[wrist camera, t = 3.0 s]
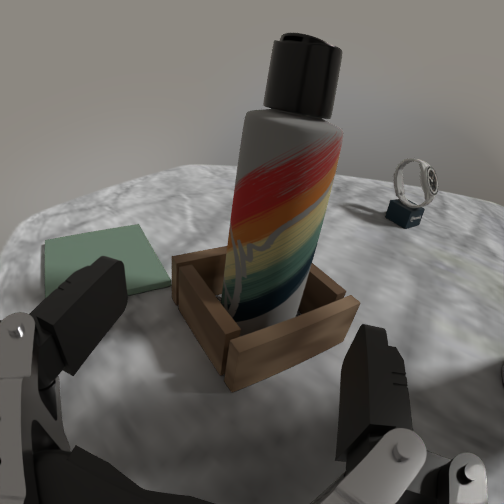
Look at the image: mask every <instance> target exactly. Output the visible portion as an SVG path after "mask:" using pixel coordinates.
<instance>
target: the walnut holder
mask: <svg viewBox="0 0 504 504" xmlns="http://www.w3.org/2000/svg"><path fill="white" fill-rule="evenodd" d="M226 254H227V246H225V247H219V248H214V249H208V250H203V251H198V252H192V253H187V254H182V255H176V256H172V299H173V300H174V302H175V304H176V305H179V311H180V312H181V314H182V316H183V317H184V319H185V321H186V322H187V324H188V326H189V327H190V329H191V331H192V332H193V334H194V335H195V337H196V339H197V340H198V342H199V343H200V345H201V347H202V348H203V350H204V351H205V353H206V354H207V356H208V358H209V359H210V361H211V362H212V364H213V365H214V367H215V368H216V370H217V371H218V373H219V374H220V376H221V375H224V374H225V378H224V382H225V383H226V385H227V386H228V388H229V389H230V391H231V392H235V391H237V390H240V389H242V388H245V387H247V386H250V385H252V384H254V383H257V382H259V381H261V380H264V379H266V378H268V377H271V376H273V375H275V374H277V373H280V372H282V371H284V370H286V369H288V368H291V367H293V366H295V365H297V364H299V363H301V362H303V361H305V360H307V359H310V358H312V357H314V356H316V355H318V354H320V353H322V352H324V351H326V350H328V349H330V348H332V347H333V346H335V345H337V344H339V343H341V342H343V341H344V338H345V336H346V334H347V332H348V330H349V328H350V325H351V323H352V321H353V319H354V317H355V314H356V312H357V310H358V308H359V305H360V302H359V301H358V300H356V299H355V298H354V297H353V296H352V295H350V296H347V297H345V298H344V296H345V293H346V290H344V289H343V288H342V287H341V286H340V285H338V284H337V283H336V282H335V281H334V280H332V279H331V278H330V277H329V276H327V275H326V274H325V273H324V272H323V271H321V270H320V269H319V268H318V267H316V266H315V265H314V264H313V263H312V264H311V267H310V271H309V274H308V278H307V281H306V285H305V288H304V291H303V295H302V298H301V301H300V305H299V308H298V311H299V312H300V313H301V314H302V315H299V316H297V317H294V318H291V319H289V320H286V321H283V322H280V323H278V324H275V325H272V326H269V327H267V328H264V329H261V330H258V331H255V332H252V333H249V334H247V335H244V336H241V337H240V332H241V329H240V327H239V326H238V325H237V324H236V322H235V321H234V320H233V318H232V317H231V316H230V315H229V313H228V312H227V311H226V309H225V308H224V307H223V305H222V304H221V303H220V302H219V300H218V299H217V298H216V296H215V295H219V294H222V289H223V280H224V271H225V263H226Z"/></svg>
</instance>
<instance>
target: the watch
mask: <svg viewBox="0 0 504 504" xmlns="http://www.w3.org/2000/svg"><path fill="white" fill-rule="evenodd" d="M412 161H416V162H418V163H420V164H419V166H420V169H421V171H420V182H421V186H422V189H423V191H424V193H425V201H424V202H423V203H422V204H421V205H417V204H415V203H413V202H411V201H409V200H407V199H406V198H405V196H404V194H405V191H404V186H403V175H402V174H403V171H402V170H403V168H404V167H405V166H406V164H408V163H410V162H412ZM394 188H395V193H396V196H397V197H398V198H400V199H397V200H390V203H389V206H388V209H387V212H386V216H385V218H387V219H389V220H391V221H392V222H394V223H396V224H398V225H399V226H401V227H403V228H404V229H407V228H411V227H414V226H417V225H419V224H420V221H421V218H422V215H423V213H424V210H425V209H424V208H422V207H424V206H426V205H428V204H429V203H430V202H432V200H433V199H434V197H435V196H436V195H437V192H438V181H437V176H436V173H435V171H434V169H433V167H432V166H430V165H429V164H428V163H426V162H425V161H422V160H419V159H406V160H404V161H402V162H401V163H400V164H399V165H398V166H397V168H396V171H395V173H394Z"/></svg>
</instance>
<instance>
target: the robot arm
mask: <svg viewBox="0 0 504 504" xmlns="http://www.w3.org/2000/svg"><path fill="white" fill-rule="evenodd" d="M127 300H128V294H127V286H126V277H125V267H124V263H123V262H122V261H120V260H117V259H113V258H110V257H107V256H101V257H99V258H98V259H97V260H96V261H95V262H94V263H92V264H91V265H90V266H85V267H83V268H81V269H79V270H77V271H75V272H74V273H73V274H72V275H70V276H69V277H68V278H67V279H66V280H65V282H63V283H62V284H60V285H59V286H58V289H55V290H54V291H53V292H52V293H51V294H50V295H49V296H47V297H46V298H45V299H44V300H43V301H42V302H41V303H40V304H39V305H38V306H37V307H36V308H35V309H34V310H33V311H32V312H31V313H30V314H27V313H22V312H19V313H14V314H11V315H9V316H7V317H6V318H4V319H3V320H2V321H1V320H0V504H215V503H211V502H208V501H204V500H201V499H198V498H195V497H191V496H184V495H176V494H168V493H161V492H155V491H149V490H145V489H143V488H141V487H139V486H138V485H137V484H135V483H134V482H133V481H131V480H130V479H129V478H127V477H126V476H125V475H123V474H122V473H121V472H120V471H118V470H117V469H116V468H115V467H113V466H112V465H111V464H110V463H108V462H106V461H104V460H102V459H100V458H98V457H97V456H95V455H93V454H91V453H89V452H87V451H85V450H84V449H82V448H80V447H78V446H77V445H76V446H75V447H74V449H73V451H72V452H71V450H70V446H69V442H68V439H67V437H66V434H65V432H64V428H63V423H62V411H61V396H60V379H59V376H58V375H59V374H60V372H61V371H62V370H63V371H65V372H67V373H69V374H70V375H72V376H74V375H75V374H76V372H77V371H78V370H79V368H80V367H81V366H82V364H83V363H84V362H85V360H86V359H87V358H88V356H89V355H90V354H91V352H92V351H93V350H94V349H95V347H96V346H97V345H98V343H99V342H100V341H101V340H102V338H103V337H104V336H105V335H106V333H107V332H108V331H109V330H110V328H111V327H112V326H113V325H114V323H115V322H116V321H117V320H118V318H119V317H120V316H121V315H122V313H123V312H124V310H125V308H126V305H127ZM405 374H406V372H405V365H404V360H403V358H402V357H401V355H400V353H399V352H398V350H397V348H396V347H392V346H388V340H387V334H386V330H385V329H384V328H380V327H375V326H370V325H365V324H362V325H361V326H360V328H359V330H358V332H357V334H356V336H355V338H354V340H353V342H352V344H351V346H350V348H349V350H348V352H347V354H346V356H345V358H344V361H343V364H342V369H341V382H340V404H339V421H338V435H337V447H336V457H335V461H344V462H346V471H345V472H344V473H343V474H342V475H341V476H340V477H339V478H338V479H337V480H336V481H335V482H334V483H333V484H331V485H330V486H329V487H328V488H327V489H326V490H325V491H324V492H323V493H322V494H321V495H319V496H318V497H317V498H316V499H315V500H314V501H313V502H311V503H310V504H488V494H487V479H486V470H485V466H484V464H483V462H482V461H481V459H480V458H479V457H478V456H476V455H475V454H473V453H469V452H465V453H461V454H459V455H457V456H456V457H455V458H453V459H452V460H451V459H448V458H445V457H442V456H440V455H437V454H434V453H432V452H429V451H427V450H426V446H425V444H424V442H423V440H422V439H421V438H420V436H419V435H417V434H416V433H415V432H413V428H412V418H411V409H410V401H409V393H408V388H407V378H406V376H405ZM502 378H503V382H504V364H503V368H502Z"/></svg>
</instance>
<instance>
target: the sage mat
mask: <svg viewBox="0 0 504 504" xmlns="http://www.w3.org/2000/svg"><path fill="white" fill-rule="evenodd" d="M101 256H107V257H110V258H113V259H117V260H120V261H122V262H123V263H124V267H125V277H126V286H127V294H128V295H132V294H137V293H141V292H146V291H150V290H155V289H159V288H164V287H168V286H171V279H170V277H169V276H168V274H167V272H166V271H165V269H164V267H163V266H162V264H161V262H160V261H159V259H158V257H157V255H156V254H155V252H154V250H153V248H152V247H151V245H150V243H149V241H148V240H147V238H146V236H145V234H144V232H143V231H142V229H141V227H140V225H139V224H137V225H130V226H124V227H118V228H112V229H106V230H100V231H94V232H88V233H82V234H77V235H71V236H65V237H60V238H55V239H49V240H45V298H46V297H47V296H49V295H50V294H51V293H52V292H53V291H54V290H55V289H58V286H59V285H60V284H62V283H63V282H65V280H66V279H67V278H68V277H69V276H70V275H72V274H73V273H74V272H75V271H77V270H79V269H81V268H83V267H85V266H90V265H91V264H92V263H94V262H95V261H96V260H97V259H98V258H99V257H101Z"/></svg>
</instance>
